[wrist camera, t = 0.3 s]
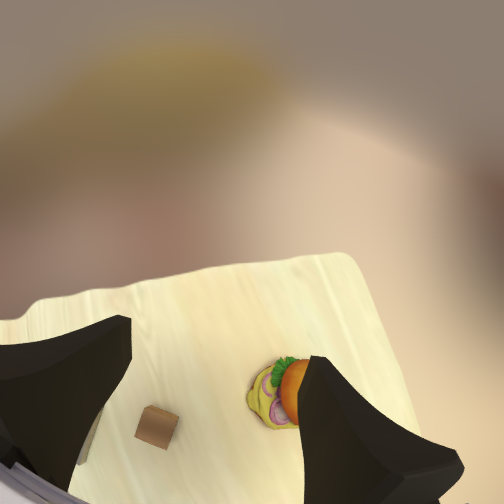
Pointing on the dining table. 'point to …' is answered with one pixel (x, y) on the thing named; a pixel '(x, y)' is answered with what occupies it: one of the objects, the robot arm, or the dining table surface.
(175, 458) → the dining table surface
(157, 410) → the walnut block
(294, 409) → the cheeseburger
